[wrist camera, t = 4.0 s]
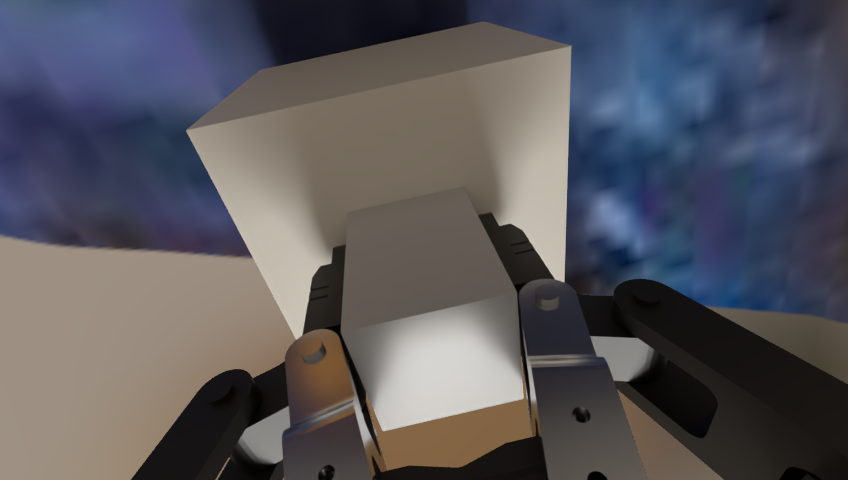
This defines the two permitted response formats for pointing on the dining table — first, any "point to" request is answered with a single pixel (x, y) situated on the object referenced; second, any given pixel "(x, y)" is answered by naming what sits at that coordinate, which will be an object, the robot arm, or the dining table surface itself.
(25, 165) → the dining table surface
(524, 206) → the cream open-backed crate
